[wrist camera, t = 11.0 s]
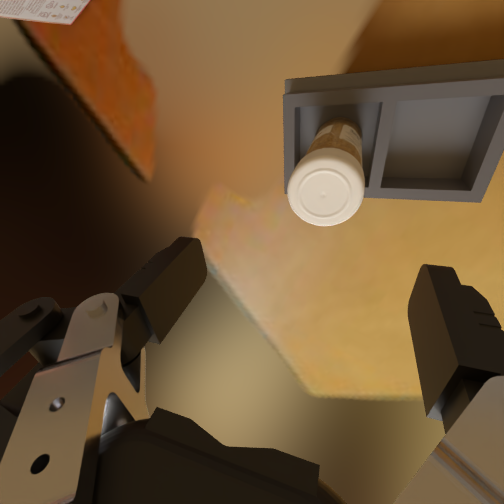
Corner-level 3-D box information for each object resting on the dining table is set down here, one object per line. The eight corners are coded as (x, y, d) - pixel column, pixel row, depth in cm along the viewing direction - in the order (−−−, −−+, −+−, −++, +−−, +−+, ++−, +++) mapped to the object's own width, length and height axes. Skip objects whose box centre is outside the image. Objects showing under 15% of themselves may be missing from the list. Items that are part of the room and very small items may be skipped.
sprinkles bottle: (311, 122, 26) (279, 162, 15) (362, 111, 24) (364, 148, 14) (317, 168, 28) (292, 230, 18) (363, 161, 26) (365, 226, 16)
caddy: (524, 56, 20) (554, 56, 17) (468, 195, 26) (483, 213, 23) (287, 79, 25) (276, 81, 22) (288, 188, 31) (280, 202, 28)
